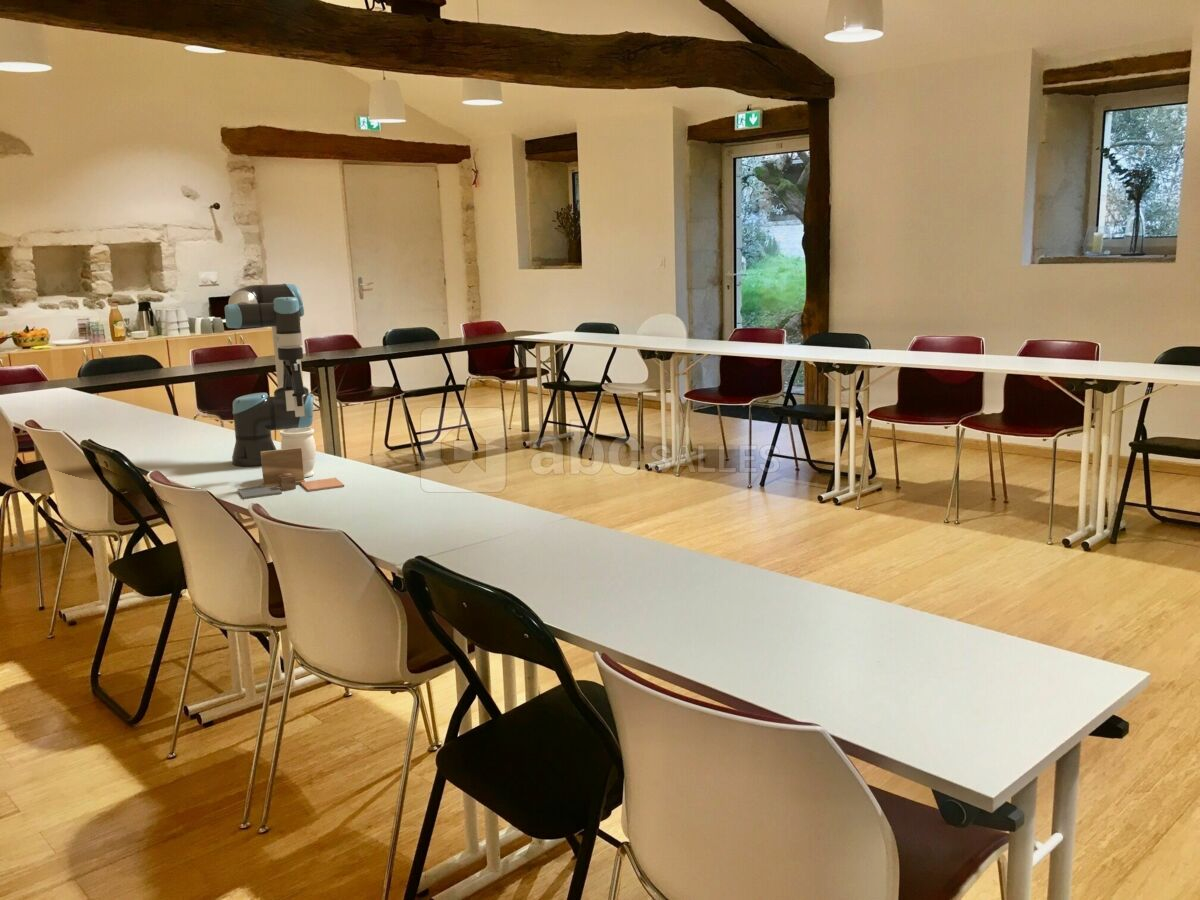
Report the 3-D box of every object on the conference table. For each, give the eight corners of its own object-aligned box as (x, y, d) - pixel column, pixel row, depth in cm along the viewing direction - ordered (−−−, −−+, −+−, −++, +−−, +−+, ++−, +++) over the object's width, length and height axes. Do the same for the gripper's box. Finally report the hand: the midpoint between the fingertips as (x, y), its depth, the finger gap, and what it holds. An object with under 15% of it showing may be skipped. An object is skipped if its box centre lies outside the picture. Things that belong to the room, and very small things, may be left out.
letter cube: (280, 487, 307) (278, 473, 306) (293, 486, 308) (292, 472, 307) (282, 490, 303) (281, 476, 302) (295, 488, 305) (294, 474, 304)
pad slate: (237, 491, 304) (237, 489, 304) (274, 486, 309) (274, 484, 309) (243, 498, 294) (243, 496, 294) (281, 493, 299) (281, 491, 299)
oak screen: (262, 485, 310) (259, 450, 308) (301, 480, 316) (299, 446, 314) (265, 488, 306) (262, 453, 304) (305, 483, 312) (302, 449, 309)
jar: (322, 472, 326) (319, 427, 323) (310, 479, 316) (306, 433, 313) (291, 472, 327) (287, 427, 324) (278, 479, 317) (274, 433, 314)
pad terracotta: (300, 484, 311) (300, 482, 311) (335, 479, 316) (335, 477, 316) (308, 491, 301) (308, 489, 301) (344, 486, 306) (344, 484, 306)
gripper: (270, 344, 322) (276, 409, 326) (285, 350, 301) (291, 420, 305) (293, 343, 326) (299, 407, 330) (310, 349, 304) (316, 417, 308)
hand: (295, 413), depth 317 cm, fingers open, 13 cm apart
